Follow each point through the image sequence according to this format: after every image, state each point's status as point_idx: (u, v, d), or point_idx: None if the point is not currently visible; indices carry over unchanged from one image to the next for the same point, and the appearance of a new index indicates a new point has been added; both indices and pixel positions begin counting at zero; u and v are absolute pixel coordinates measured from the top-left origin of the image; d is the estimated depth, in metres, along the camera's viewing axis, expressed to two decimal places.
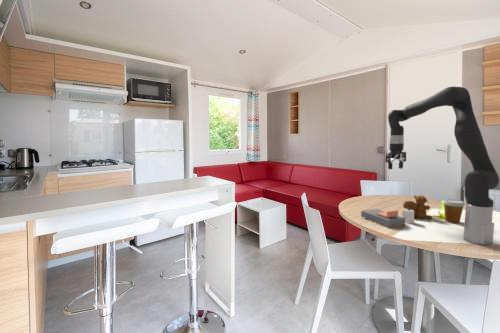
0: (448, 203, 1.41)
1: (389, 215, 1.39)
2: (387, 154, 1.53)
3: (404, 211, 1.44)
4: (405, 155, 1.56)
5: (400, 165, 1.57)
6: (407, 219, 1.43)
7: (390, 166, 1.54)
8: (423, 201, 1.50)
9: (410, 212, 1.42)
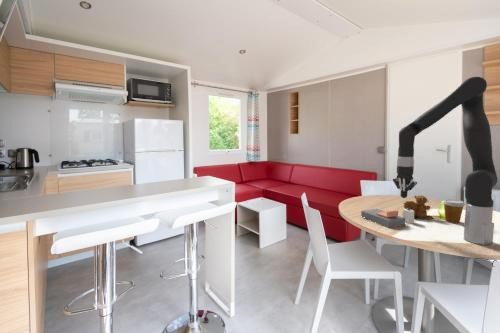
0: (448, 203, 1.41)
1: (389, 215, 1.39)
2: (413, 184, 1.27)
3: (404, 211, 1.44)
4: (398, 182, 1.37)
5: None
6: (407, 219, 1.43)
7: (406, 194, 1.32)
8: (423, 201, 1.50)
9: (410, 212, 1.42)
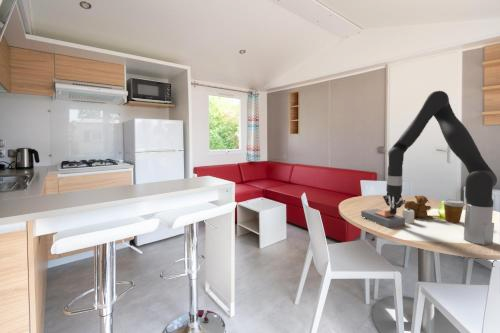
0: (448, 203, 1.41)
1: (387, 214, 1.40)
2: (402, 203, 1.33)
3: (404, 211, 1.44)
4: (388, 199, 1.43)
5: None
6: (407, 219, 1.43)
7: (395, 211, 1.39)
8: (424, 201, 1.50)
9: (410, 212, 1.42)
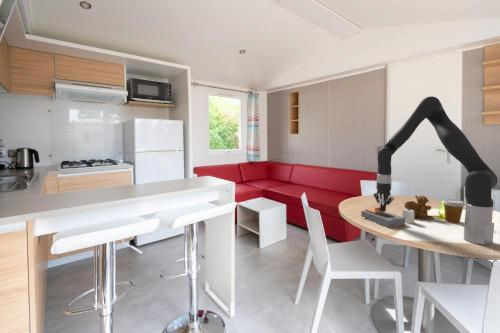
0: (448, 203, 1.41)
1: (377, 211, 1.47)
2: (391, 200, 1.40)
3: (404, 211, 1.44)
4: (378, 196, 1.50)
5: None
6: (407, 219, 1.43)
7: None
8: (424, 201, 1.50)
9: (410, 212, 1.42)
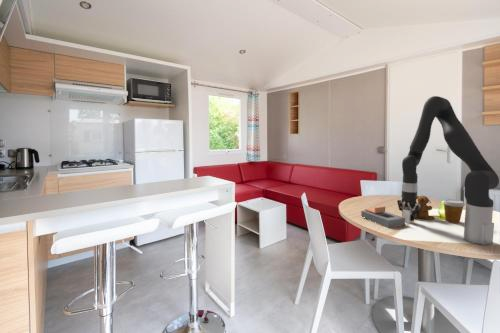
0: (448, 203, 1.41)
1: (376, 211, 1.47)
2: (419, 207, 1.37)
3: (404, 211, 1.44)
4: None
5: None
6: (407, 219, 1.43)
7: None
8: (425, 201, 1.50)
9: None
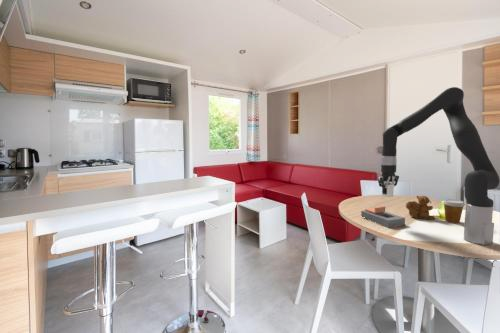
0: (448, 203, 1.41)
1: (376, 211, 1.47)
2: None
3: (389, 186, 1.40)
4: None
5: None
6: (392, 193, 1.41)
7: None
8: (426, 201, 1.50)
9: None
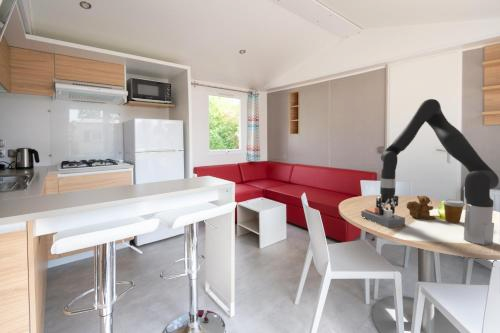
0: (448, 203, 1.41)
1: (376, 211, 1.47)
2: None
3: (388, 212, 1.41)
4: None
5: None
6: None
7: None
8: (426, 201, 1.49)
9: None
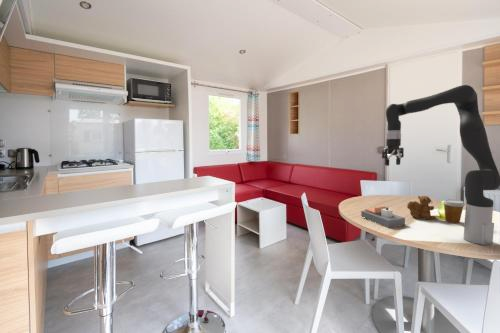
0: (448, 203, 1.41)
1: (376, 211, 1.47)
2: None
3: (388, 212, 1.41)
4: (383, 152, 1.50)
5: None
6: None
7: None
8: (427, 201, 1.49)
9: None
